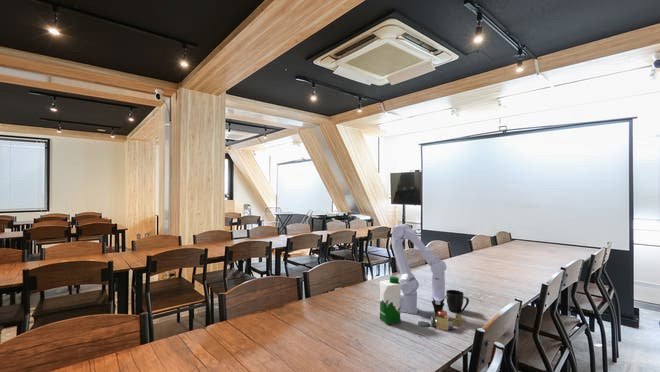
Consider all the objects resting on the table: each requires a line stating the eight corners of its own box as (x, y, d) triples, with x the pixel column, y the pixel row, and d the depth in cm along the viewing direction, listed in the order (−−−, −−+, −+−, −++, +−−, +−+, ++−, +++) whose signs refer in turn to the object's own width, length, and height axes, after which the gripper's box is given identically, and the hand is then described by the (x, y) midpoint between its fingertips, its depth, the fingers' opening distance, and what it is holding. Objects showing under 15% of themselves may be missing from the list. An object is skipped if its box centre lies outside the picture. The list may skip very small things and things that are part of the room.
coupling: (433, 318, 142) (433, 308, 142) (433, 315, 146) (433, 304, 146) (442, 320, 140) (443, 309, 140) (443, 316, 144) (443, 306, 144)
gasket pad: (417, 325, 134) (417, 325, 134) (418, 320, 139) (418, 320, 139) (430, 327, 132) (430, 327, 132) (430, 322, 137) (430, 322, 137)
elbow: (452, 324, 136) (452, 315, 136) (451, 322, 138) (451, 314, 138) (461, 324, 136) (461, 316, 136) (459, 323, 138) (459, 314, 138)
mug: (461, 318, 143) (461, 298, 144) (442, 309, 154) (442, 290, 154) (473, 315, 147) (473, 296, 147) (454, 306, 158) (454, 288, 158)
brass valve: (431, 327, 132) (431, 312, 132) (431, 323, 137) (431, 308, 137) (453, 331, 129) (453, 315, 129) (453, 327, 133) (453, 311, 134)
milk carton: (403, 323, 136) (403, 279, 136) (386, 326, 133) (386, 281, 133) (392, 316, 144) (393, 274, 145) (376, 318, 141) (377, 276, 142)
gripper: (447, 292, 135) (446, 322, 135) (447, 283, 148) (447, 310, 148) (431, 289, 138) (430, 319, 137) (432, 281, 151) (432, 308, 151)
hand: (438, 314), depth 143 cm, fingers closed on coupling, 4 cm apart
